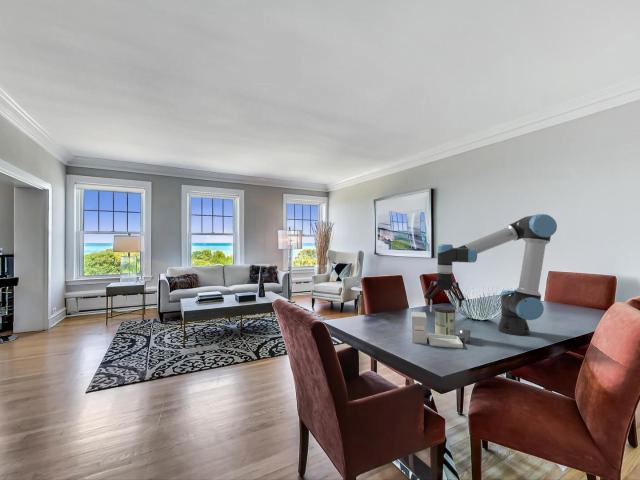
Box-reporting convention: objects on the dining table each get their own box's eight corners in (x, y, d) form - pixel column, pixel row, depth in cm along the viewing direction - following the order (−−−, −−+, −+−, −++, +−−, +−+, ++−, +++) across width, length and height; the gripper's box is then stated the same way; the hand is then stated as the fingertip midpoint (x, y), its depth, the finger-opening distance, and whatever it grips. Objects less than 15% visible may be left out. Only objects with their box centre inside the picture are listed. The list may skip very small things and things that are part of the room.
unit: (425, 337, 165) (425, 312, 165) (426, 344, 154) (426, 317, 154) (411, 336, 167) (411, 311, 167) (411, 342, 155) (411, 316, 156)
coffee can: (439, 331, 176) (439, 306, 176) (458, 335, 169) (458, 308, 169) (431, 335, 168) (431, 309, 169) (451, 339, 161) (451, 311, 162)
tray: (457, 339, 161) (457, 335, 161) (462, 348, 147) (462, 344, 147) (427, 337, 165) (427, 333, 165) (429, 346, 150) (429, 341, 150)
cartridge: (469, 341, 158) (469, 329, 158) (471, 344, 153) (471, 332, 153) (458, 340, 159) (458, 328, 160) (460, 343, 155) (460, 331, 155)
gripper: (468, 273, 170) (468, 312, 169) (420, 271, 176) (419, 309, 176) (471, 274, 162) (470, 315, 162) (420, 272, 169) (420, 312, 168)
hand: (444, 312), depth 169 cm, fingers open, 13 cm apart
